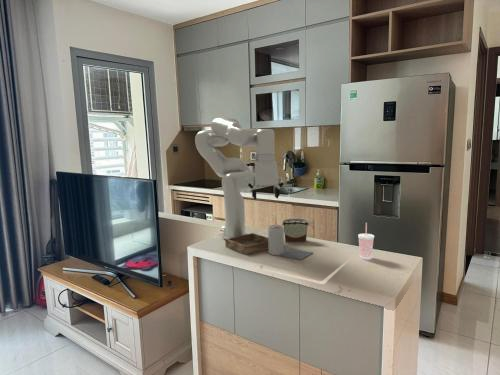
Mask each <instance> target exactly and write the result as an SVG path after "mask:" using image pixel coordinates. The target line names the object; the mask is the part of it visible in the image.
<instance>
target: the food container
mask: <svg viewBox="0 0 500 375" xmlns="http://www.w3.org/2000/svg"><path fill="white" fill-rule="evenodd" d="M281 226H283V229H284V241H285V242H284V243H306V242H307V235H308V226H310V223H309V221H308V220H307V219H303V218H287V219H284V220H282V224H281Z"/></svg>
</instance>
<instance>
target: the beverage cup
mask: <svg viewBox="0 0 500 375" xmlns="http://www.w3.org/2000/svg"><path fill="white" fill-rule="evenodd" d="M367 232H368V222H365V233H359V234H357V236H358V250H359V254H358V255H359V259H362V260H371V259H373V249H374V248H373V247H374V239H375V235H374V234H372V233H367Z"/></svg>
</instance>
